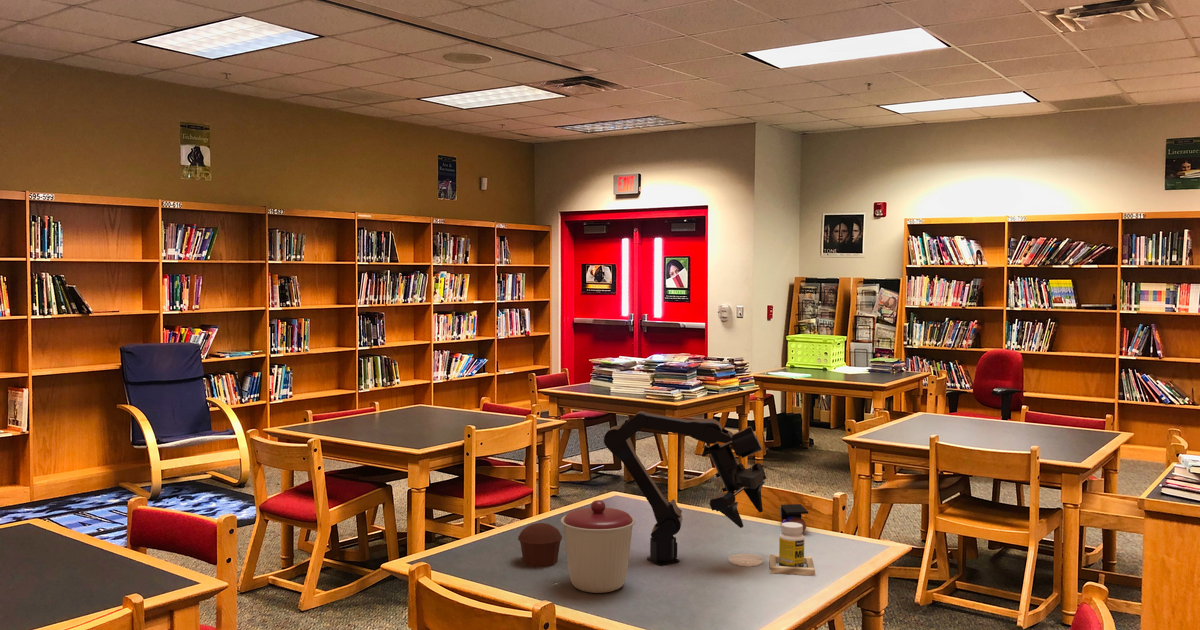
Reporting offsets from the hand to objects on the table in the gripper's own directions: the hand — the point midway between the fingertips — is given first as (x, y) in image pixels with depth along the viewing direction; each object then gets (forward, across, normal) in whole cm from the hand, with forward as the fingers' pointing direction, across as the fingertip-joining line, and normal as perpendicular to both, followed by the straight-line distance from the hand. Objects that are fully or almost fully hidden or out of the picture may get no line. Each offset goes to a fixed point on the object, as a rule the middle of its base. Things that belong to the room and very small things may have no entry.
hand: (751, 519), depth 237 cm
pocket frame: (+15, +2, -3) cm, 16 cm away
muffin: (-12, -38, +40) cm, 57 cm away
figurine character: (+17, +34, +18) cm, 42 cm away
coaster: (+10, -1, +7) cm, 13 cm away
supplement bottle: (+16, +2, -3) cm, 16 cm away
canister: (-4, -41, +18) cm, 45 cm away
